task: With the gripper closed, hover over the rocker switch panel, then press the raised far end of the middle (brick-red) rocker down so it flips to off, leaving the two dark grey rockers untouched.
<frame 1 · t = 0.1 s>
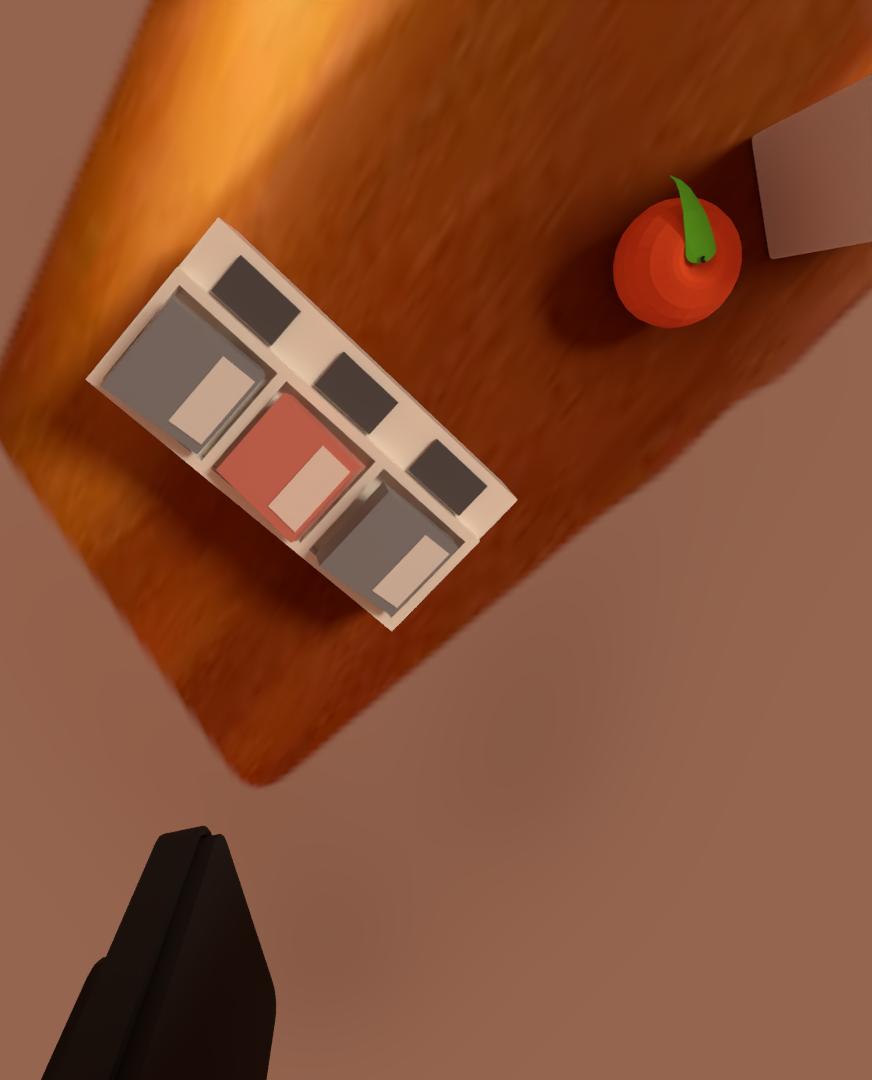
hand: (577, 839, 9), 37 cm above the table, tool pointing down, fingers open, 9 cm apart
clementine: (649, 261, 43), on the table
rocker 1: (185, 377, 36), point 7 cm above the table, hinge at 16.0°
rocker switch panel: (319, 430, 44), on the table
rocker 3: (388, 551, 39), point 7 cm above the table, hinge at 16.0°
rocker mid: (291, 468, 38), point 7 cm above the table, hinge at -16.0°
milk carton: (812, 182, 43), on the table
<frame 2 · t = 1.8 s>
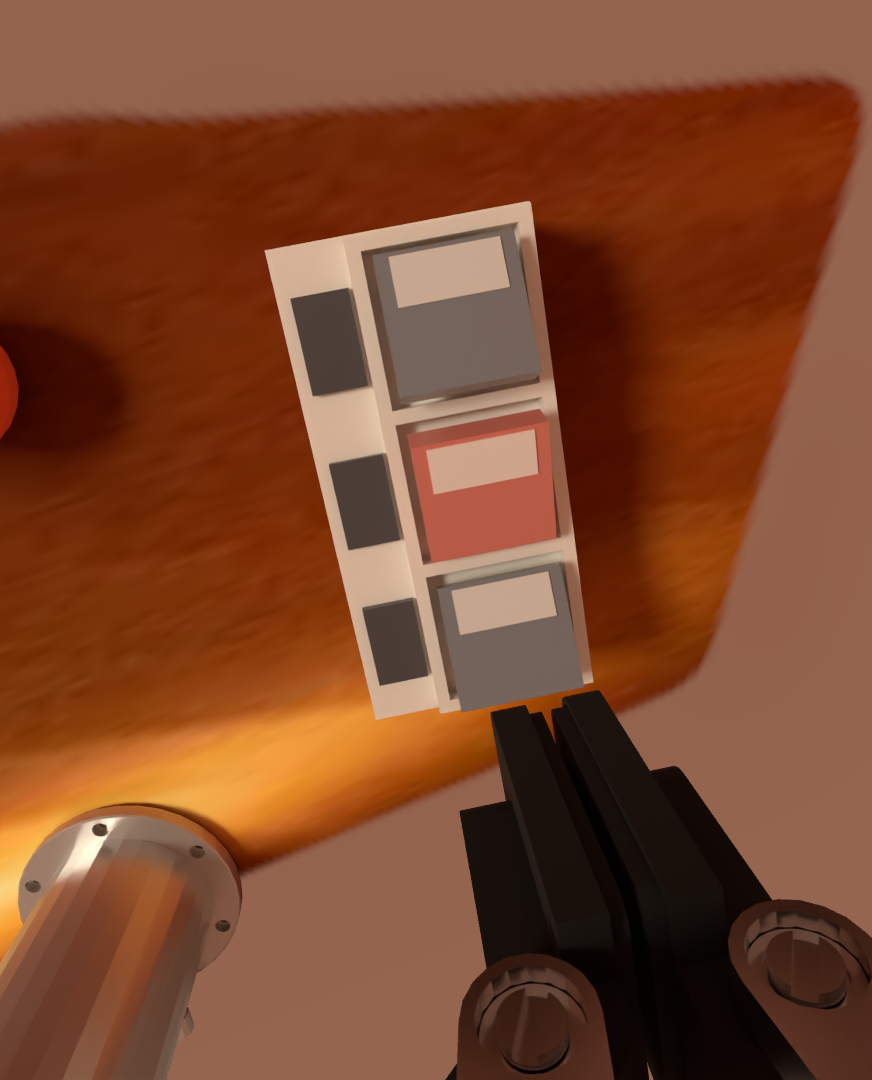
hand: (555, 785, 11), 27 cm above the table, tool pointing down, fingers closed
rocker 1: (509, 635, 32), point 7 cm above the table, hinge at 16.0°
rocker switch panel: (436, 465, 36), on the table
rocker 3: (456, 318, 28), point 7 cm above the table, hinge at 16.0°
rocker mid: (484, 488, 30), point 7 cm above the table, hinge at -16.0°
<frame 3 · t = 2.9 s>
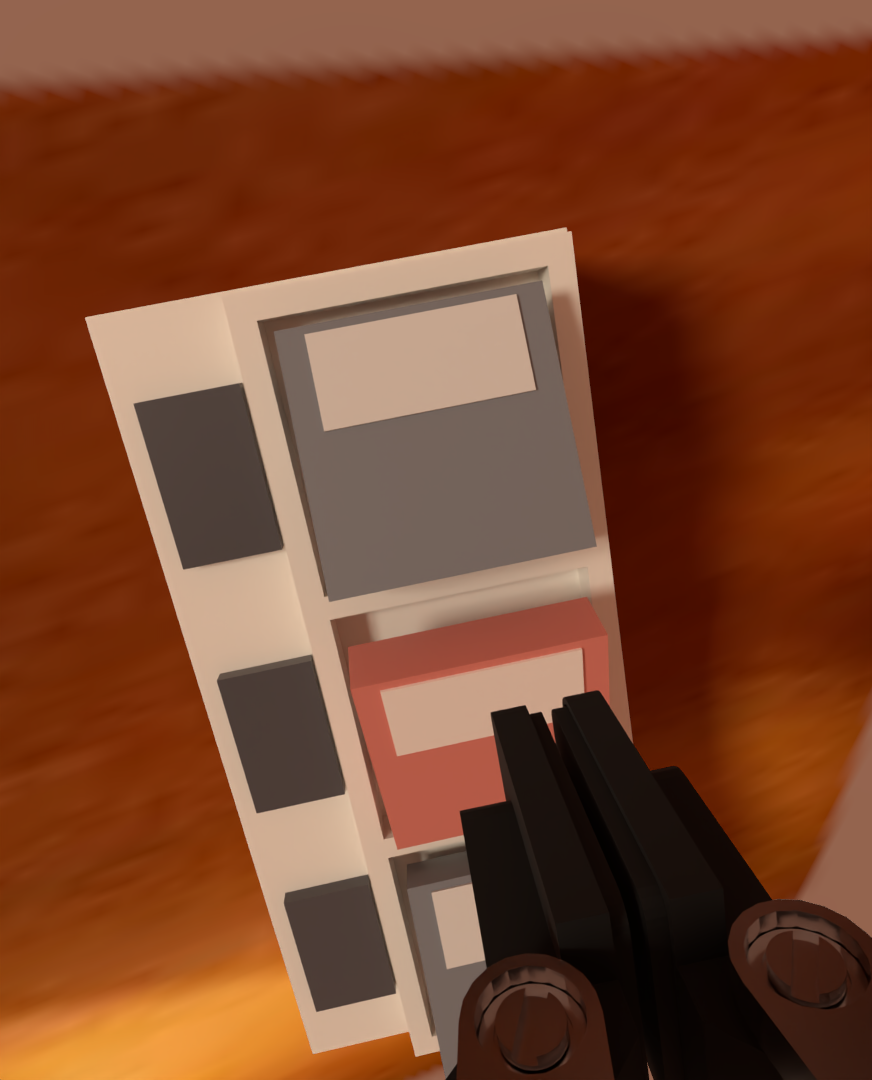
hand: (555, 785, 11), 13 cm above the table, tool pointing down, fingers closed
rocker 1: (529, 956, 19), point 7 cm above the table, hinge at 16.0°
rocker switch panel: (409, 630, 24), on the table
rocker 3: (435, 444, 15), point 7 cm above the table, hinge at 16.0°
rocker mid: (488, 730, 17), point 7 cm above the table, hinge at -16.0°
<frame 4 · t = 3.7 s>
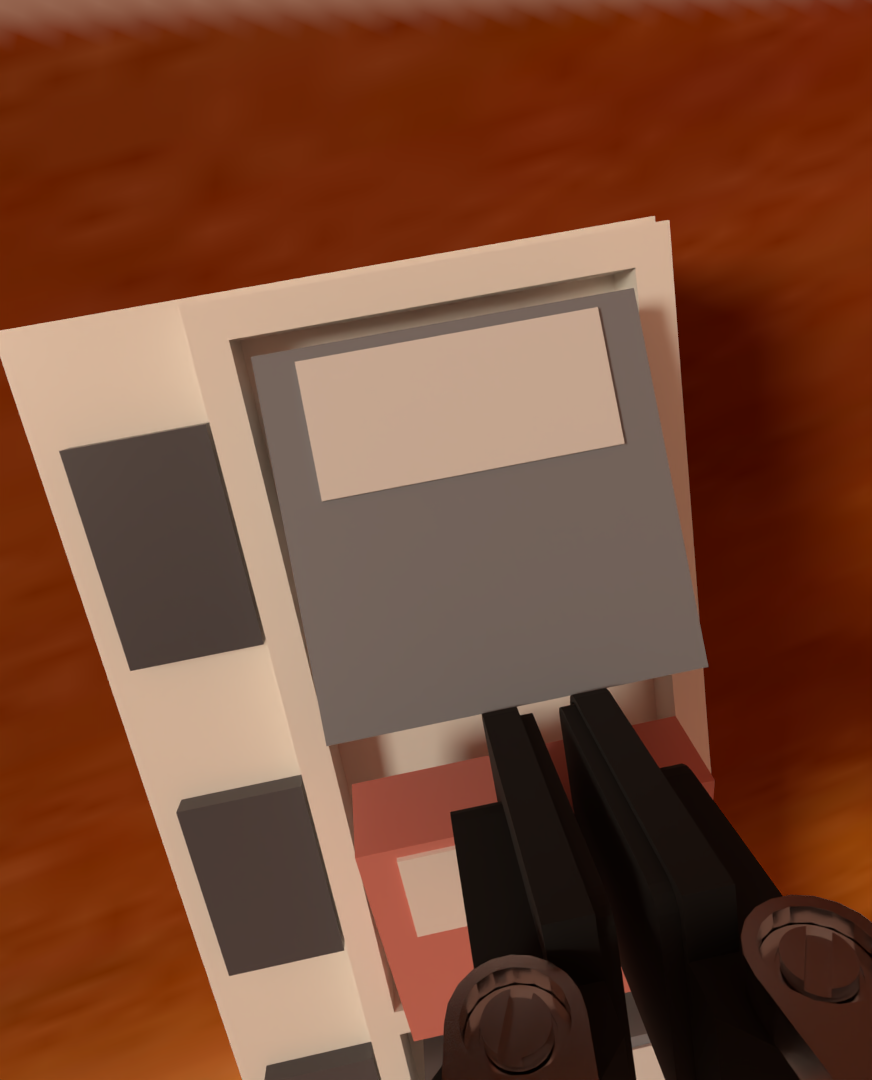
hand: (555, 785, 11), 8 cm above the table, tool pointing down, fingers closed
rocker switch panel: (424, 712, 19), on the table
rocker 3: (477, 515, 11), point 7 cm above the table, hinge at 16.0°
rocker mid: (538, 889, 13), point 7 cm above the table, hinge at -14.6°, touching gripper
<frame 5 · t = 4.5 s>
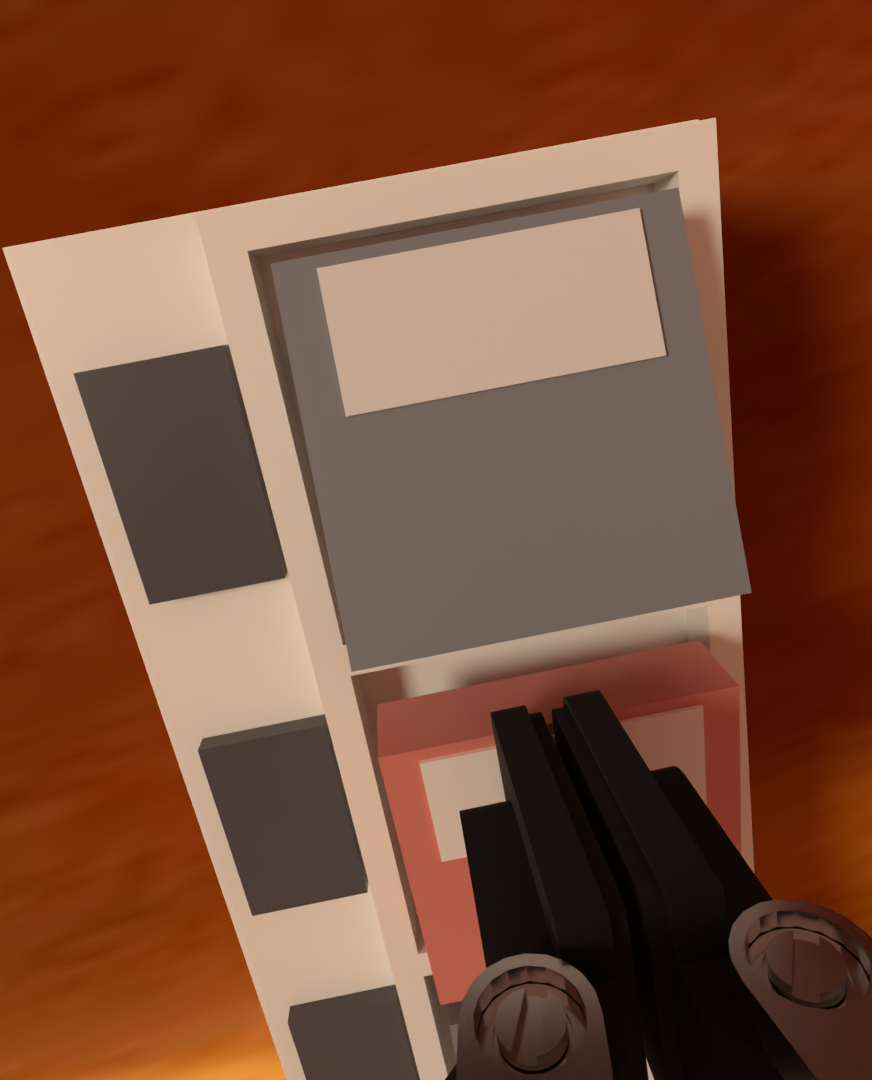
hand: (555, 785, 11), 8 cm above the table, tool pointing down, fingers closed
rocker switch panel: (446, 662, 19), on the table
rocker 3: (508, 436, 10), point 7 cm above the table, hinge at 15.7°
rocker mid: (566, 829, 12), point 7 cm above the table, hinge at -4.4°
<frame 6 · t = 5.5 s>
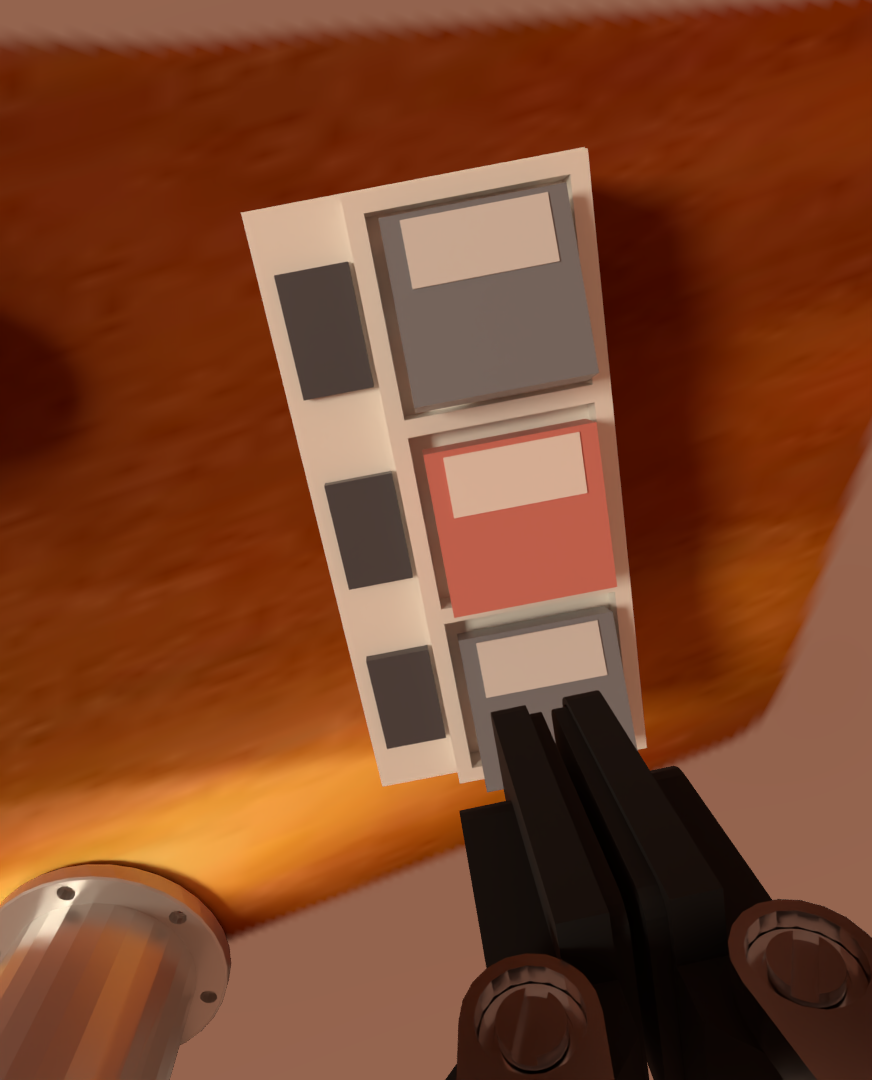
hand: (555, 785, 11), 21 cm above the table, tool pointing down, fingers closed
rocker 1: (546, 697, 26), point 7 cm above the table, hinge at 16.0°
rocker switch panel: (457, 479, 30), on the table
rocker 3: (487, 302, 21), point 7 cm above the table, hinge at 14.6°
rocker mid: (519, 518, 24), point 7 cm above the table, hinge at 4.2°
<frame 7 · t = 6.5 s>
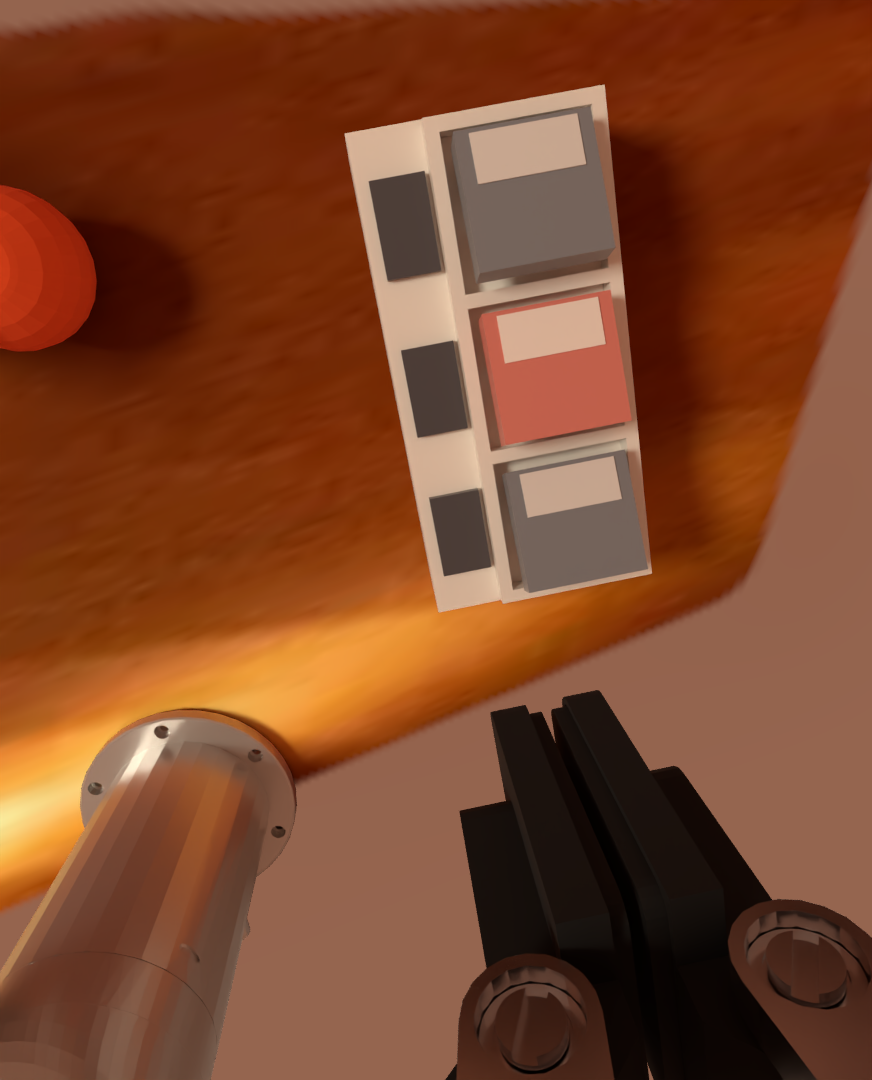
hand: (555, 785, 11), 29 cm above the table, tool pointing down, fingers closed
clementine: (45, 288, 35), on the table
rocker 1: (573, 521, 33), point 7 cm above the table, hinge at 16.0°
rocker switch panel: (494, 369, 37), on the table
rocker 3: (532, 197, 29), point 7 cm above the table, hinge at 13.6°
rocker mid: (554, 370, 31), point 7 cm above the table, hinge at 10.9°
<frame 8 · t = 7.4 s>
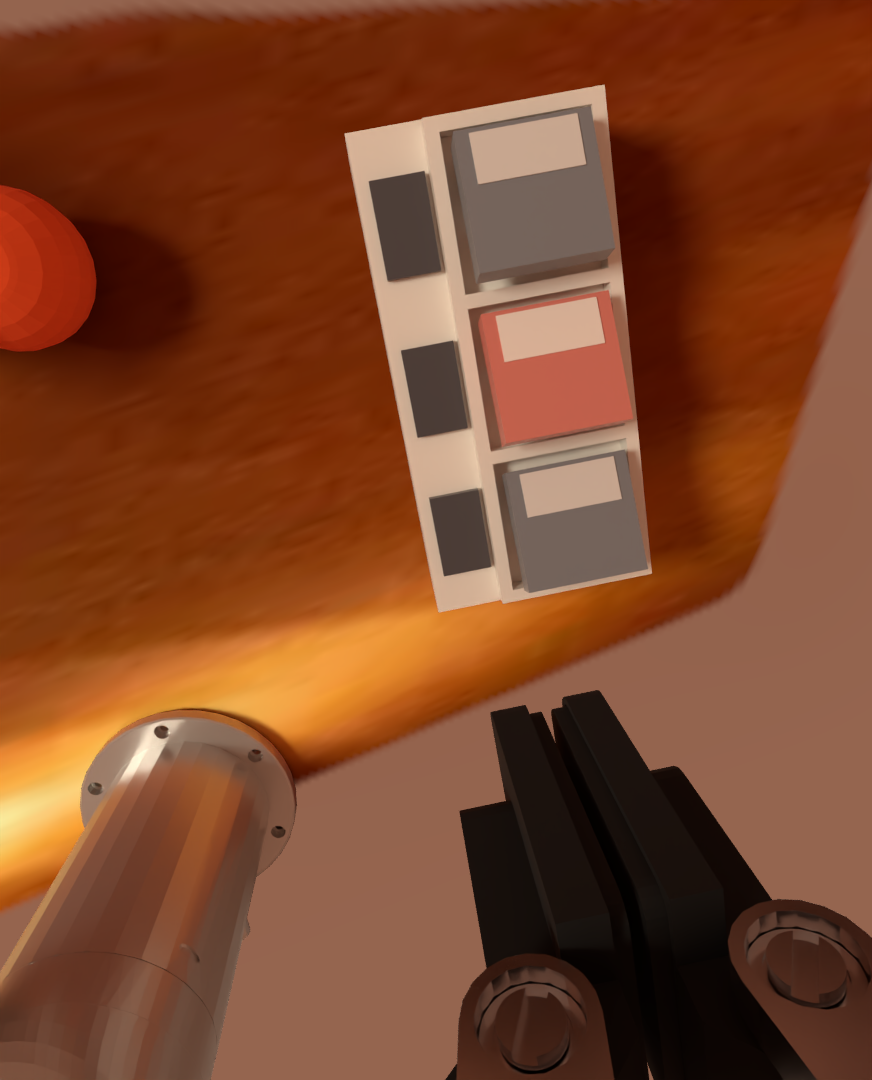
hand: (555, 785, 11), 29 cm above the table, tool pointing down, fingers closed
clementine: (45, 288, 35), on the table
rocker 1: (573, 521, 33), point 7 cm above the table, hinge at 16.0°
rocker switch panel: (494, 369, 37), on the table
rocker 3: (532, 197, 29), point 7 cm above the table, hinge at 13.0°
rocker mid: (554, 370, 31), point 7 cm above the table, hinge at 15.6°
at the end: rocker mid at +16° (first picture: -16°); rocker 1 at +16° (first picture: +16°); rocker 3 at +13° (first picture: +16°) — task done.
